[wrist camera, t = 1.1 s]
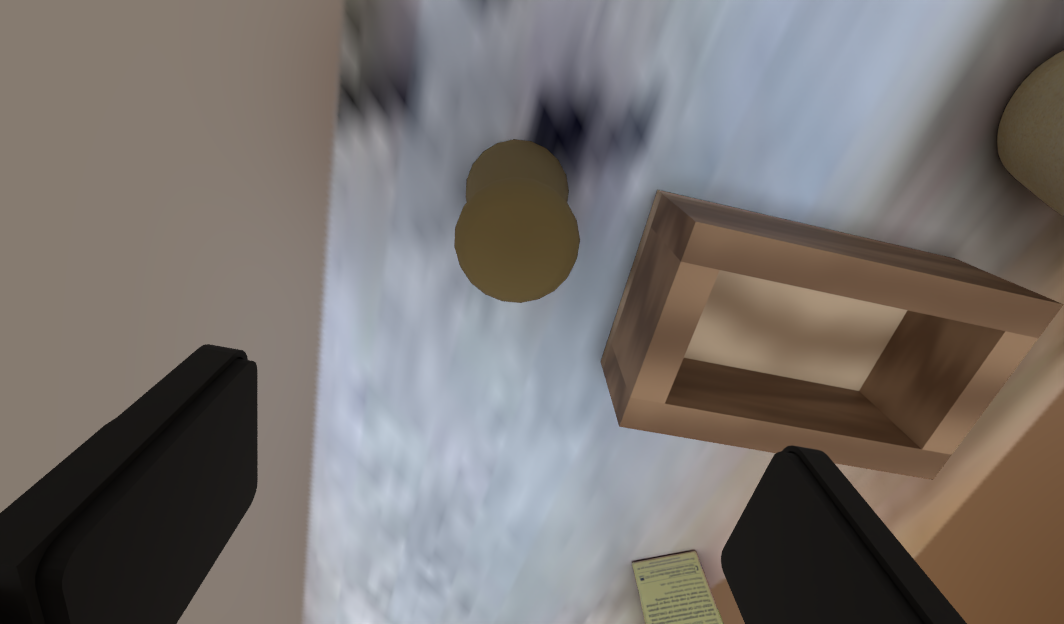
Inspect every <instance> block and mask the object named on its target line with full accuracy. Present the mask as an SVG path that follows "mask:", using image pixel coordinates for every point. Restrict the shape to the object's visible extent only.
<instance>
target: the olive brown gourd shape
mask: <svg viewBox="0 0 1064 624" xmlns="http://www.w3.org/2000/svg"><path fill="white" fill-rule="evenodd" d="M568 193H569V189H568V183H567V178H566V174H565V172H564V170H563V168H562V166H561V164H560V162H559V161H558V159H557V158H556V157H554V156H553V155H552V154H551V153H550V152H549V151H548V150H547V149H546V148H544V147H542V146H540V145H538V144H536V143H533V142H531V141H524V140H515V139H514V140H509V141H505V142H500V143H497V144H495V145H494V146H492V147H490V148H489V149H487V150H485V151H484V152H483V153H482V154H481V155H480V156H479V158H478V159H477V160H476V161H475V162H474V164H473V165H472V168H471V170H470V173H469V175H468V178H467V183H466V201H467V203H466V204H465V205H464V207H463V209H462V212H461V214H460V217H459V219H458V222H457V224H456V227H455V246H454V247H455V250H456V254H457V257H458V261H459V264H460V266H461V268H462V270H463V271H464V273H465V274H466V276H467V277H468V279H469V280H470V282H471V283H472V284H473V285H474V286H476V287H477V288H478V289H479V290H481V291H482V292H483V293H485V294H486V295H488V296H491V297H493V298H496V299H499V300H501V301H507V302H518V303H522V302H527V301H532V300H537V299H540V298H542V297H543V296H545V295H547V294H549V293H551V292H553V291H555V290H556V289H557V288H558V287H559V286H560V285H561V284H562V283H563V282H564V281H565V280H566V279H567V277H568V275H569V273H570V271H571V269H572V267H573V266H574V264H575V262H576V259H577V255H578V248H579V242H580V238H579V232H578V226H577V221H576V218H575V216H574V215H573V213H572V211H571V209H570V207H569V205H568V204H567V200H568Z"/></svg>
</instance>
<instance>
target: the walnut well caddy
mask: <svg viewBox="0 0 1064 624" xmlns="http://www.w3.org/2000/svg"><path fill="white" fill-rule="evenodd" d="M1063 305H1064V304H1061V303H1059V302H1056V301H1054V300H1052V299H1049V298H1047V297H1045V296H1042V295H1040V294H1038V293H1035V292H1033V291H1030V290H1028V289H1026V288H1023V287H1021V286H1019V285H1016V284H1014V283H1011V282H1009V281H1007V280H1004V279H1002V278H1000V277H997V276H995V275H993V274H990V273H988V272H985V271H983V270H981V269H978V268H976V267H974V266H971V265H969V264H967V263H964V262H962V261H959V260H957V259H954V258H950V257H946V256H941V255H937V254H933V253H928V252H924V251H920V250H915V249H911V248H907V247H902V246H898V245H894V244H889V243H885V242H881V241H877V240H872V239H868V238H864V237H859V236H855V235H851V234H846V233H842V232H838V231H833V230H829V229H825V228H820V227H816V226H812V225H807V224H803V223H799V222H794V221H790V220H786V219H781V218H777V217H773V216H768V215H764V214H760V213H755V212H751V211H747V210H742V209H738V208H734V207H729V206H725V205H721V204H716V203H712V202H708V201H703V200H699V199H695V198H690V197H686V196H682V195H678V194H673V193H669V192H665V191H660V190H657V193H656V196H655V199H654V202H653V205H652V208H651V211H650V214H649V217H648V220H647V223H646V226H645V229H644V232H643V235H642V238H641V241H640V244H639V247H638V250H637V253H636V256H635V259H634V262H633V265H632V268H631V272H630V275H629V278H628V281H627V284H626V287H625V290H624V293H623V296H622V299H621V302H620V305H619V308H618V311H617V314H616V317H615V320H614V323H613V326H612V329H611V332H610V335H609V338H608V341H607V344H606V347H605V350H604V353H603V356H602V359H601V365H602V368H603V372H604V375H605V378H606V382H607V385H608V389H609V392H610V396H611V399H612V403H613V406H614V410H615V413H616V417H617V420H618V424H619V426H620V427H625V428H631V429H637V430H643V431H649V432H655V433H661V434H667V435H672V436H678V437H684V438H690V439H696V440H702V441H708V442H713V443H719V444H725V445H731V446H737V447H743V448H749V449H755V450H760V451H766V452H772V453H777V452H781V451H782V450H783V449H784V448H786V447H787V446H791V445H793V446H799V447H805V448H811V449H817V450H820V451H823V452H824V453H825V454H827V455H828V456H829V458H830V459H831V460H832V461H833V462H834V463H837V464H843V465H849V466H854V467H860V468H866V469H872V470H878V471H884V472H890V473H895V474H901V475H907V476H913V477H919V478H925V479H931V480H933V479H934V478H935V477H936V475H937V474H938V473H939V471H940V470H941V469H942V467H943V466H944V464H945V463H946V462H947V460H948V459H949V458H950V456H951V455H952V454H953V452H954V451H955V450H956V448H957V447H958V446H959V444H960V443H961V442H962V440H963V439H964V438H965V436H966V435H967V434H968V432H969V431H970V430H971V428H972V427H973V426H974V424H975V423H976V421H977V420H978V419H979V417H980V416H981V415H982V413H983V412H984V411H985V409H986V408H987V407H988V405H989V404H990V403H991V401H992V400H993V399H994V397H995V396H996V395H997V393H998V392H999V391H1000V389H1001V388H1002V387H1003V385H1004V384H1005V383H1006V381H1007V380H1008V378H1009V377H1010V376H1011V374H1012V373H1013V372H1014V370H1015V369H1016V368H1017V366H1018V365H1019V364H1020V362H1021V361H1022V360H1023V358H1024V357H1025V356H1026V354H1027V353H1028V352H1029V350H1030V349H1031V348H1032V346H1033V345H1034V344H1035V342H1036V341H1037V340H1038V338H1039V337H1040V335H1041V334H1042V333H1043V331H1044V330H1045V329H1046V327H1047V326H1048V325H1049V323H1050V322H1051V321H1052V319H1053V318H1054V317H1055V315H1056V314H1057V313H1058V311H1059V310H1060V309H1061V307H1062V306H1063Z"/></svg>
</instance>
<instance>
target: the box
mask: <svg viewBox="0 0 1064 624" xmlns="http://www.w3.org/2000/svg"><path fill="white" fill-rule="evenodd" d="M632 566H633V570H634V574H635V578H636V583H637V587H638V591H639V596H640V601H641V605H642V610H643V615H644V620H645V624H723V622H722V619H721V616H720V614H719V611H718V608H717V606H716V603H715V601H714V598H713V595H712V592H711V590H710V587H709V584H708V581H707V579H706V576H705V574H704V571H703V568H702V566H701V563H700V560H699V557H698V555H697V552H696V551H690V552H685V553H679V554H674V555H668V556H663V557H658V558H652V559H648V560H643V561H638V562H633V563H632Z"/></svg>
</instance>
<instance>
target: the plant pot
mask: <svg viewBox="0 0 1064 624" xmlns="http://www.w3.org/2000/svg"><path fill="white" fill-rule="evenodd" d="M997 148H998V154H999V157H1000V159H1001V162H1002V164H1003V165H1004V167H1005V168H1006V170H1007V171H1008V172H1009V173H1010V174H1011V175H1012V176H1013V177H1015V178H1016V179H1017V180H1018V181H1019V182H1020V183H1021V184H1023V185H1024V186H1025V187H1026V188H1027V189H1029V190H1030V191H1031V192H1032V193H1033V194H1035V195H1036V196H1037V197H1038V198H1039V199H1041V200H1042V201H1043V202H1044V203H1046V204H1047V205H1048V206H1050V207H1051V208H1052V209H1054V210H1055V211H1056V212H1058V213H1059V214H1060V215H1062V216H1063V217H1064V51H1062V52H1060V53H1058V54H1056V55H1054V56H1053V57H1051V58H1050V59H1048V60H1047V61H1045V62H1044V63H1043V64H1041V65H1040V66H1039V67H1037V68H1036V69H1035V70H1034V71H1033V72H1032V73H1031V74H1030V75H1029V76H1028V77H1027V78H1026V79H1025V80H1024V81H1023V82H1022V84H1021V85H1020V86H1019V87H1018V89H1017V90H1016V91H1015V93H1014V94H1013V96H1012V98H1011V99H1010V101H1009V102H1008V104H1007V106H1006V108H1005V110H1004V113H1003V115H1002V118H1001V121H1000V124H999V128H998V134H997Z"/></svg>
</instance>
